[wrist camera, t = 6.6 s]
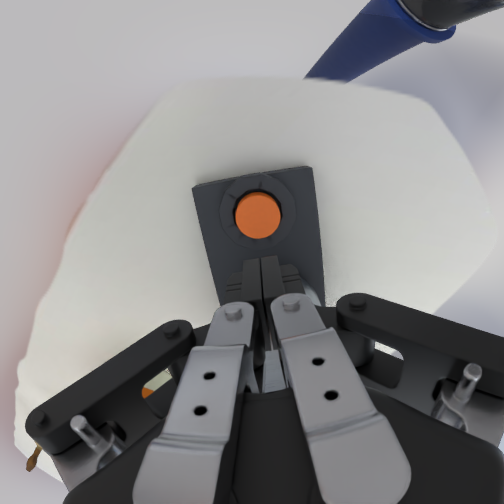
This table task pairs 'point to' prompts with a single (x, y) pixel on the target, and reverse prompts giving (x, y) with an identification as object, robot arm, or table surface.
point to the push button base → (278, 243)
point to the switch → (257, 215)
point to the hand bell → (33, 458)
